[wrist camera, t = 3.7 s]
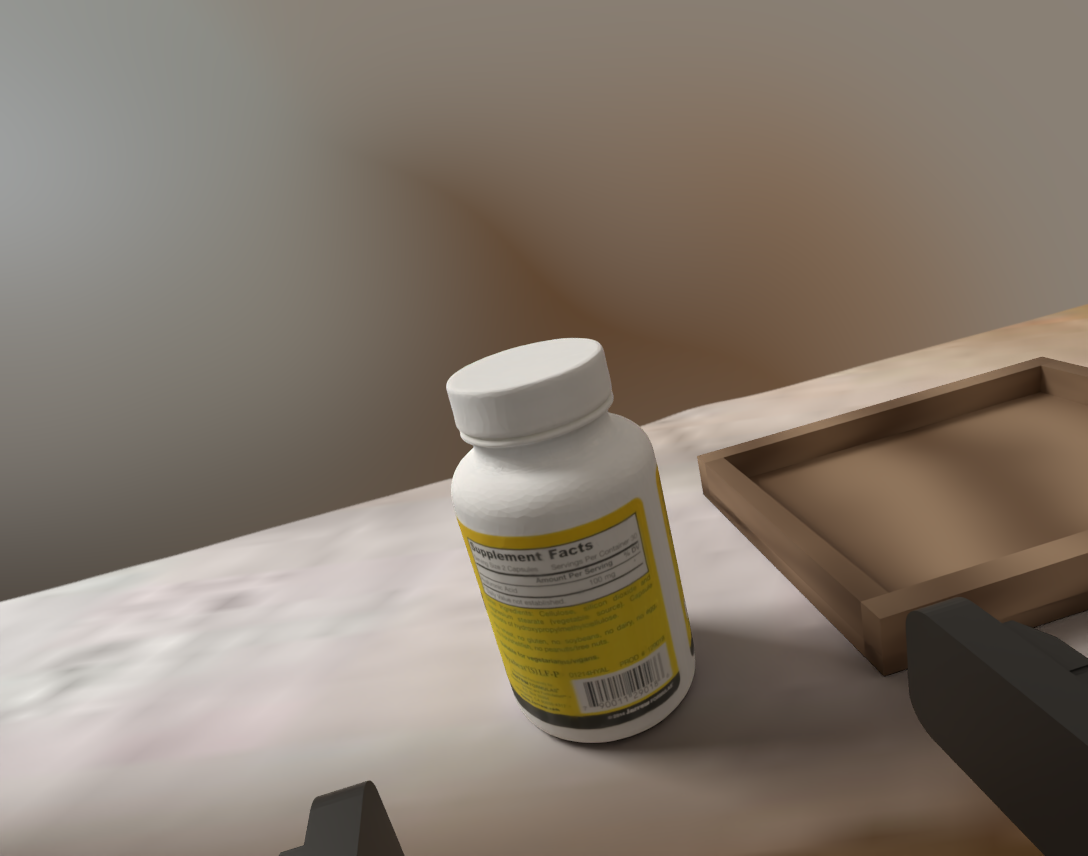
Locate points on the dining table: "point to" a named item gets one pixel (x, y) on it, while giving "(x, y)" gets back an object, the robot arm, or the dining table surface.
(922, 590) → the tray
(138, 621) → the dining table surface
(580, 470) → the supplement bottle
